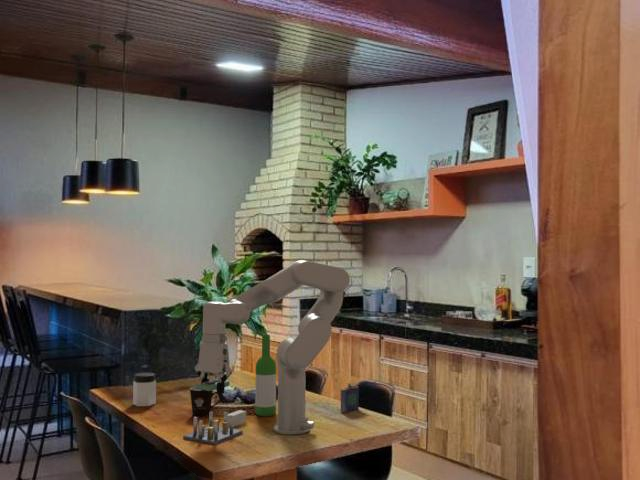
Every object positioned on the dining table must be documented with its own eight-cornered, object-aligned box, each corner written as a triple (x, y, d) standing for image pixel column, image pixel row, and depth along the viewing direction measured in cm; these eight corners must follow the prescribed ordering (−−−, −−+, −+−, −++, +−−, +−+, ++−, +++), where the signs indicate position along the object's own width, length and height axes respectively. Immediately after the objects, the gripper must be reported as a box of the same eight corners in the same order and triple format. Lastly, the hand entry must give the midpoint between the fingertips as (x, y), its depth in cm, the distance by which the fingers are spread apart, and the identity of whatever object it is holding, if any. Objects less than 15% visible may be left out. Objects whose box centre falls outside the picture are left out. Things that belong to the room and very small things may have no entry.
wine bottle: (251, 415, 242) (251, 335, 242) (262, 410, 248) (263, 333, 249) (268, 417, 238) (269, 336, 238) (279, 413, 245) (280, 334, 245)
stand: (246, 422, 232) (246, 411, 232) (232, 427, 225) (232, 416, 225) (239, 421, 233) (239, 410, 233) (225, 426, 226) (225, 414, 226)
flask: (343, 413, 245) (343, 385, 245) (338, 412, 247) (338, 384, 247) (360, 409, 251) (360, 382, 251) (354, 408, 253) (355, 381, 253)
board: (229, 385, 217) (229, 379, 217) (210, 391, 209) (210, 384, 209) (215, 383, 220) (215, 377, 220) (195, 388, 212) (196, 382, 212)
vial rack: (242, 433, 218) (242, 414, 218) (214, 444, 205) (214, 424, 205) (212, 427, 224) (212, 409, 224) (183, 438, 211) (183, 418, 211)
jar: (145, 407, 253) (145, 377, 253) (129, 405, 256) (129, 375, 256) (159, 402, 261) (160, 373, 261) (143, 400, 264) (143, 371, 264)
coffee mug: (184, 415, 240) (185, 389, 241) (199, 410, 248) (199, 384, 248) (209, 419, 235) (210, 392, 235) (223, 414, 243) (224, 388, 243)
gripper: (241, 339, 214) (240, 394, 213) (201, 335, 223) (200, 387, 222) (227, 342, 207) (225, 398, 207) (186, 337, 216) (185, 391, 216)
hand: (212, 392), depth 215 cm, fingers closed on board, 6 cm apart
